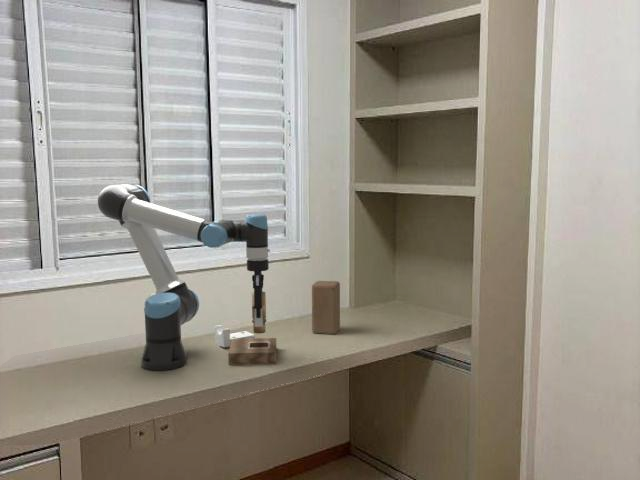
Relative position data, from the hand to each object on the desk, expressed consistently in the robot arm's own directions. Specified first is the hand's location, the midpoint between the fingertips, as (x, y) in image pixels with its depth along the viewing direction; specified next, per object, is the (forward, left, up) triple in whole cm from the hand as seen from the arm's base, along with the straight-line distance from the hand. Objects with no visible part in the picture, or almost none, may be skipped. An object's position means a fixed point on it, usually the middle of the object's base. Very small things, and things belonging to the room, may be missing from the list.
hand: (259, 324), depth 219 cm
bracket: (-10, +16, -12) cm, 23 cm away
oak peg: (0, 0, -3) cm, 3 cm away
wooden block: (+26, +32, -12) cm, 43 cm away
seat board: (-2, 0, -12) cm, 12 cm away
